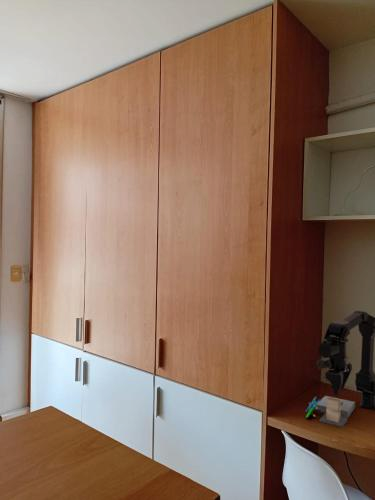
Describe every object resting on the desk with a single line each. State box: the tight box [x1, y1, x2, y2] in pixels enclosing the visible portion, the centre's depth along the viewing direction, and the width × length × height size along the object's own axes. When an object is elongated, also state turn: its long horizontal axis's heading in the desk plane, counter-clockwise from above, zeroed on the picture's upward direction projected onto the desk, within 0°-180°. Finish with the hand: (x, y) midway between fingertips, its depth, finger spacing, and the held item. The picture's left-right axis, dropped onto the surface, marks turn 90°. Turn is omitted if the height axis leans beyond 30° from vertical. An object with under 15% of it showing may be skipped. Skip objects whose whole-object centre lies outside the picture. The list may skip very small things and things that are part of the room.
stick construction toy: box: [305, 396, 325, 419], centre depth 162 cm, size 12×7×8 cm
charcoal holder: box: [316, 395, 356, 419], centre depth 168 cm, size 13×13×2 cm
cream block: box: [325, 396, 342, 422], centre depth 156 cm, size 4×4×8 cm
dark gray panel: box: [318, 412, 349, 428], centre depth 156 cm, size 9×9×1 cm
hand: (339, 391), depth 157 cm, fingers open, 9 cm apart
